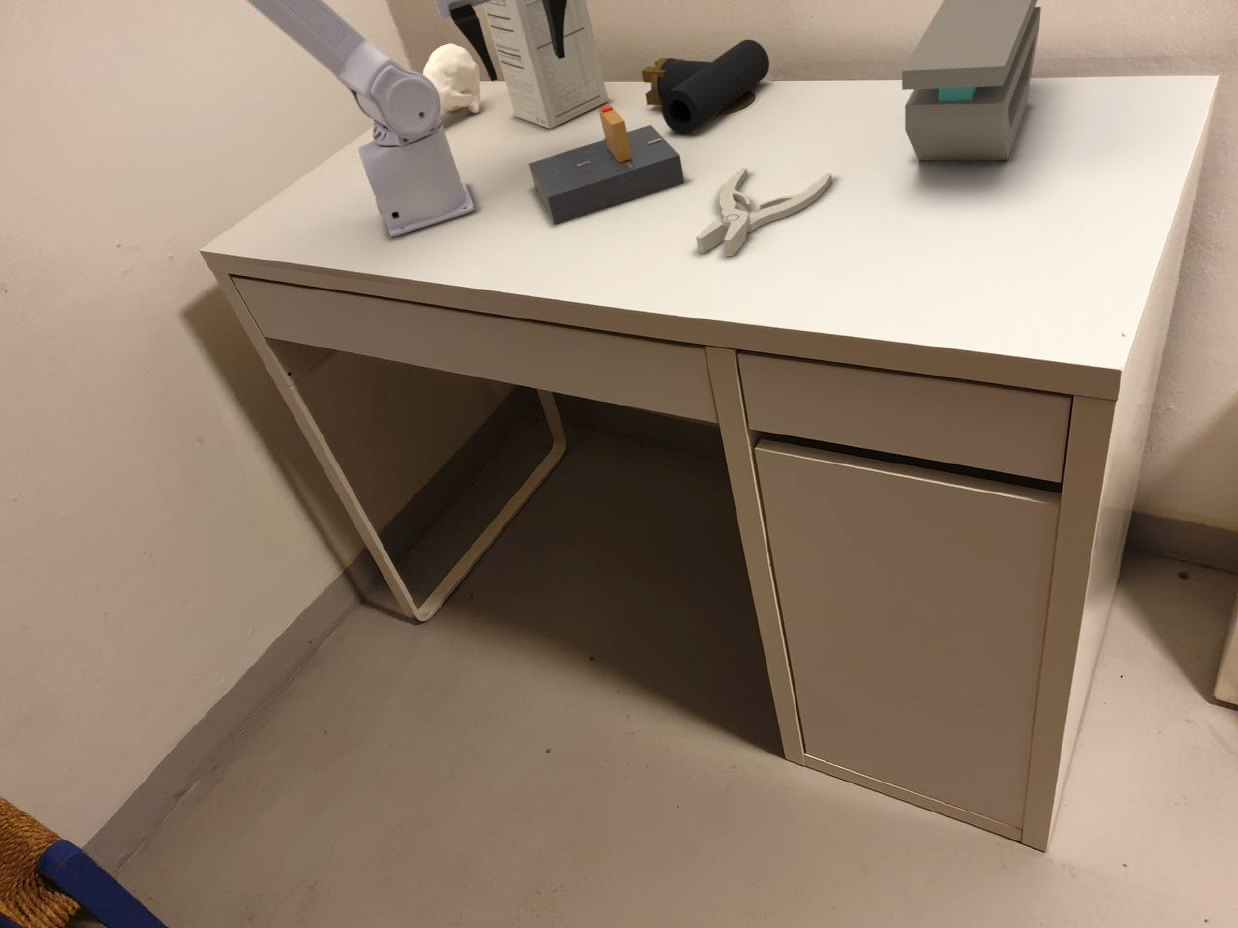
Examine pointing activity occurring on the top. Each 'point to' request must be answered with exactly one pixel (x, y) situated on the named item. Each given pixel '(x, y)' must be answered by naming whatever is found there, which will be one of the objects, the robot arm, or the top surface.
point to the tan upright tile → (615, 133)
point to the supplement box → (546, 61)
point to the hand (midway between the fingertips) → (526, 67)
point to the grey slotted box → (971, 79)
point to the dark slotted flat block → (605, 175)
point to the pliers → (742, 223)
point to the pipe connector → (703, 84)
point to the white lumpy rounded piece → (454, 78)
